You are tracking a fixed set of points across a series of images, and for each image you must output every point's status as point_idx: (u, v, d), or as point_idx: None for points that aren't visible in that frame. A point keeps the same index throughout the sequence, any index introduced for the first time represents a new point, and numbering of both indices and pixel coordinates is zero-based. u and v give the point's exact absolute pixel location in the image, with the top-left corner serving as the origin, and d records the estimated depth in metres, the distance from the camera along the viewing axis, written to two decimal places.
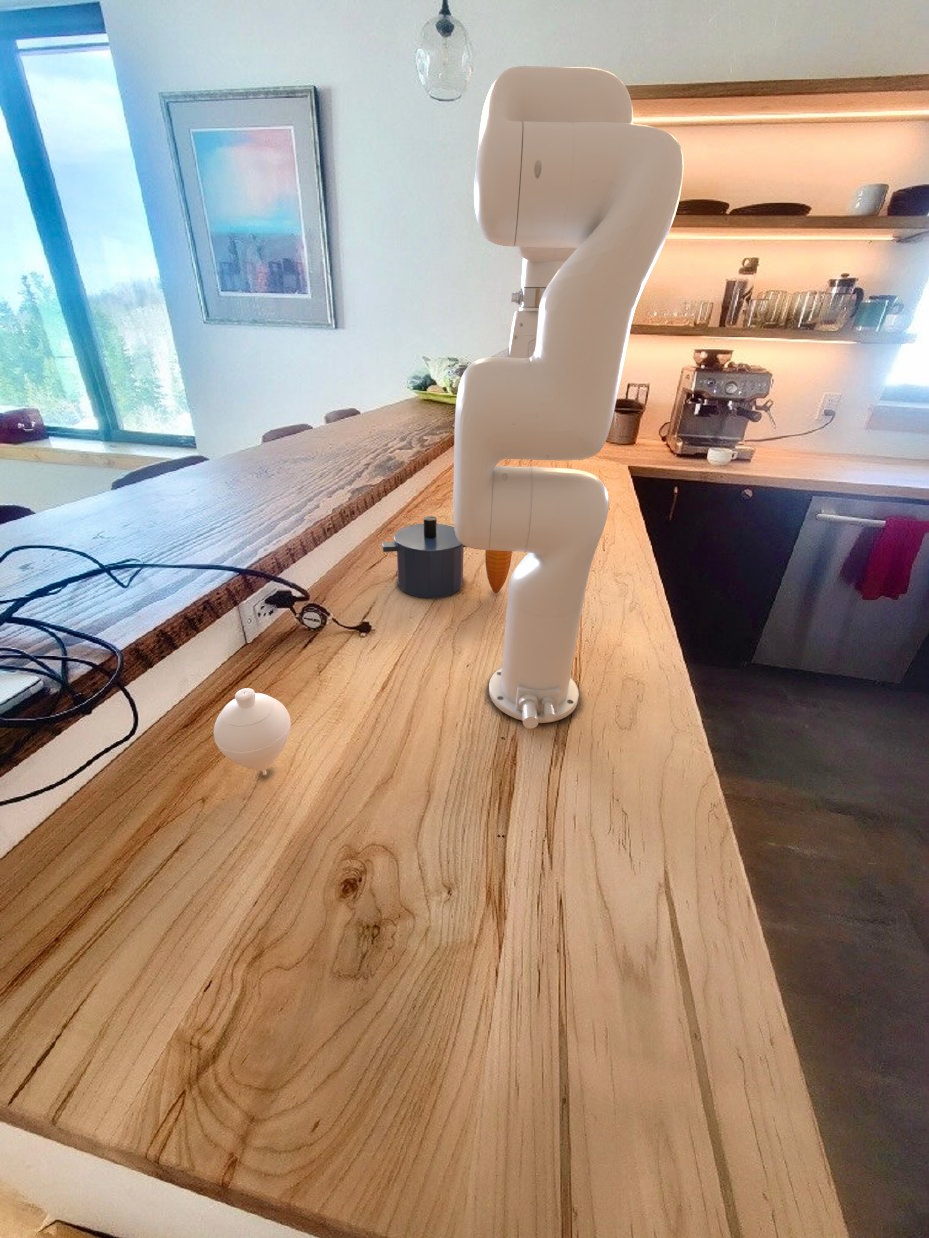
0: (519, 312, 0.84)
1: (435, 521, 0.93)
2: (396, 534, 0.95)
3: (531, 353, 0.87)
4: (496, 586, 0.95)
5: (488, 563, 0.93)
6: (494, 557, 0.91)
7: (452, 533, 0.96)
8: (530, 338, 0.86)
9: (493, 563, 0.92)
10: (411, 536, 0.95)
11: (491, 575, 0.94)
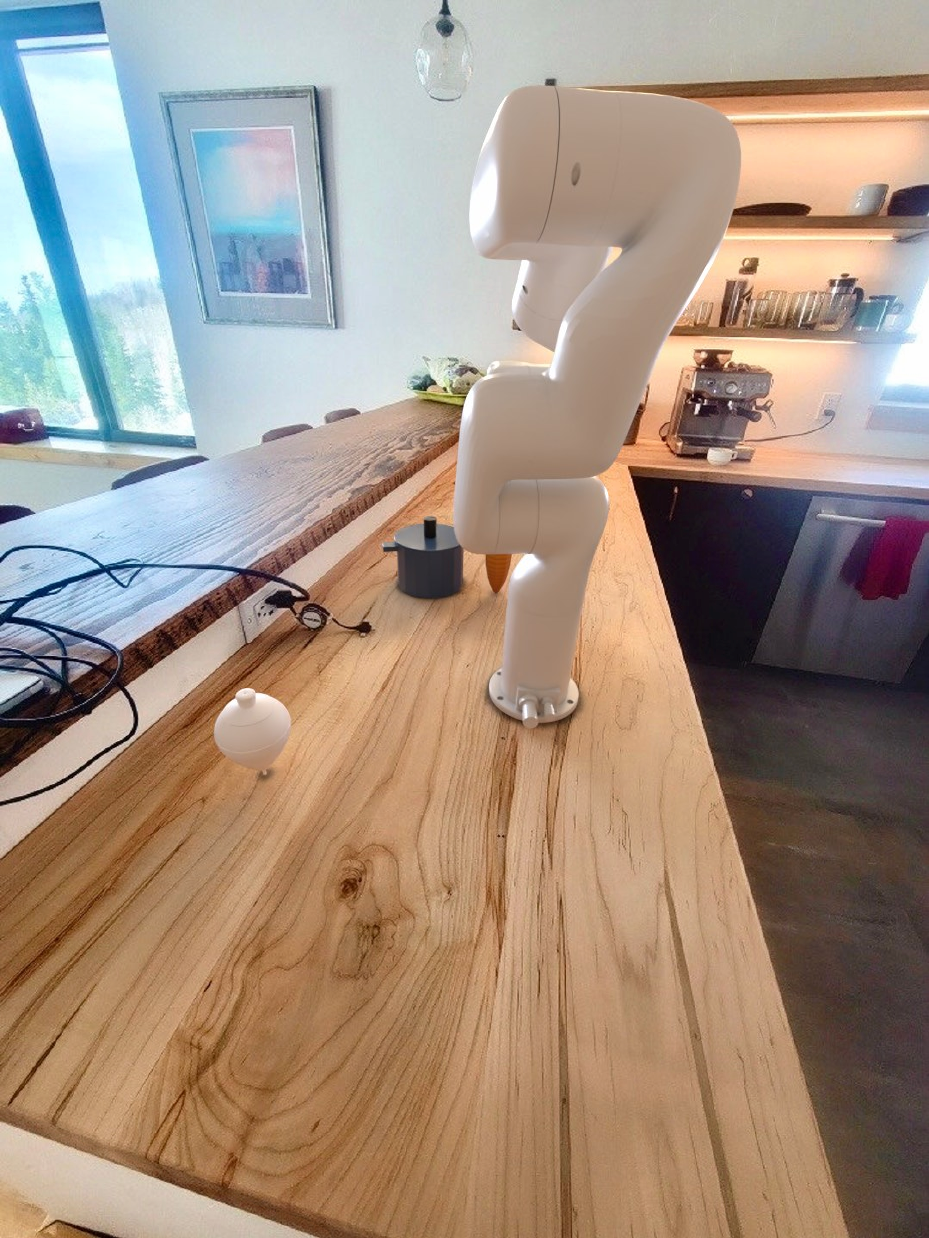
0: None
1: (435, 521, 0.93)
2: (396, 534, 0.95)
3: None
4: (496, 586, 0.95)
5: (488, 563, 0.93)
6: (494, 557, 0.91)
7: (452, 533, 0.96)
8: None
9: (493, 563, 0.92)
10: (411, 536, 0.95)
11: (491, 575, 0.94)
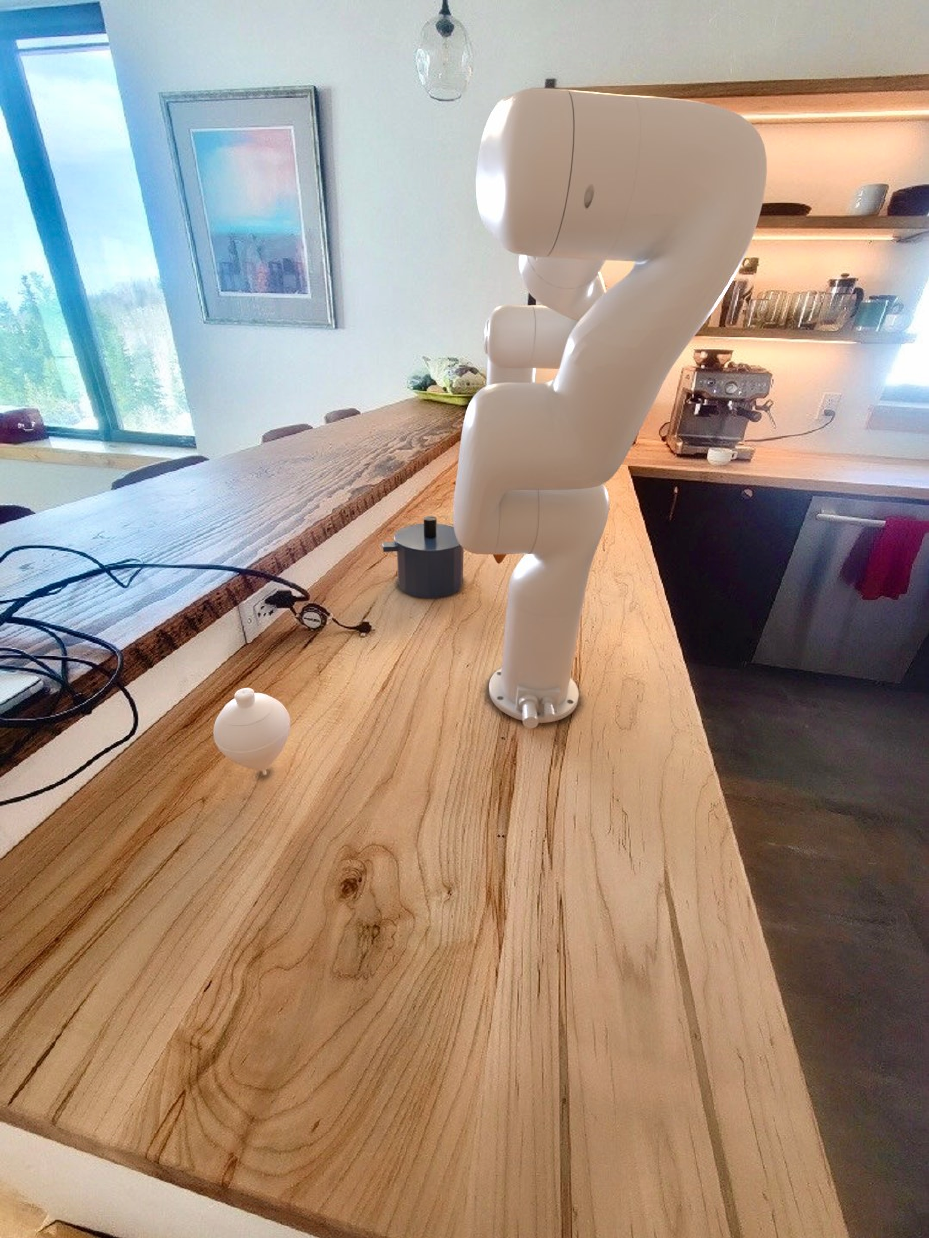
0: None
1: (435, 521, 0.93)
2: (396, 534, 0.95)
3: None
4: (499, 555, 0.91)
5: None
6: None
7: (452, 533, 0.96)
8: None
9: None
10: (411, 536, 0.95)
11: None
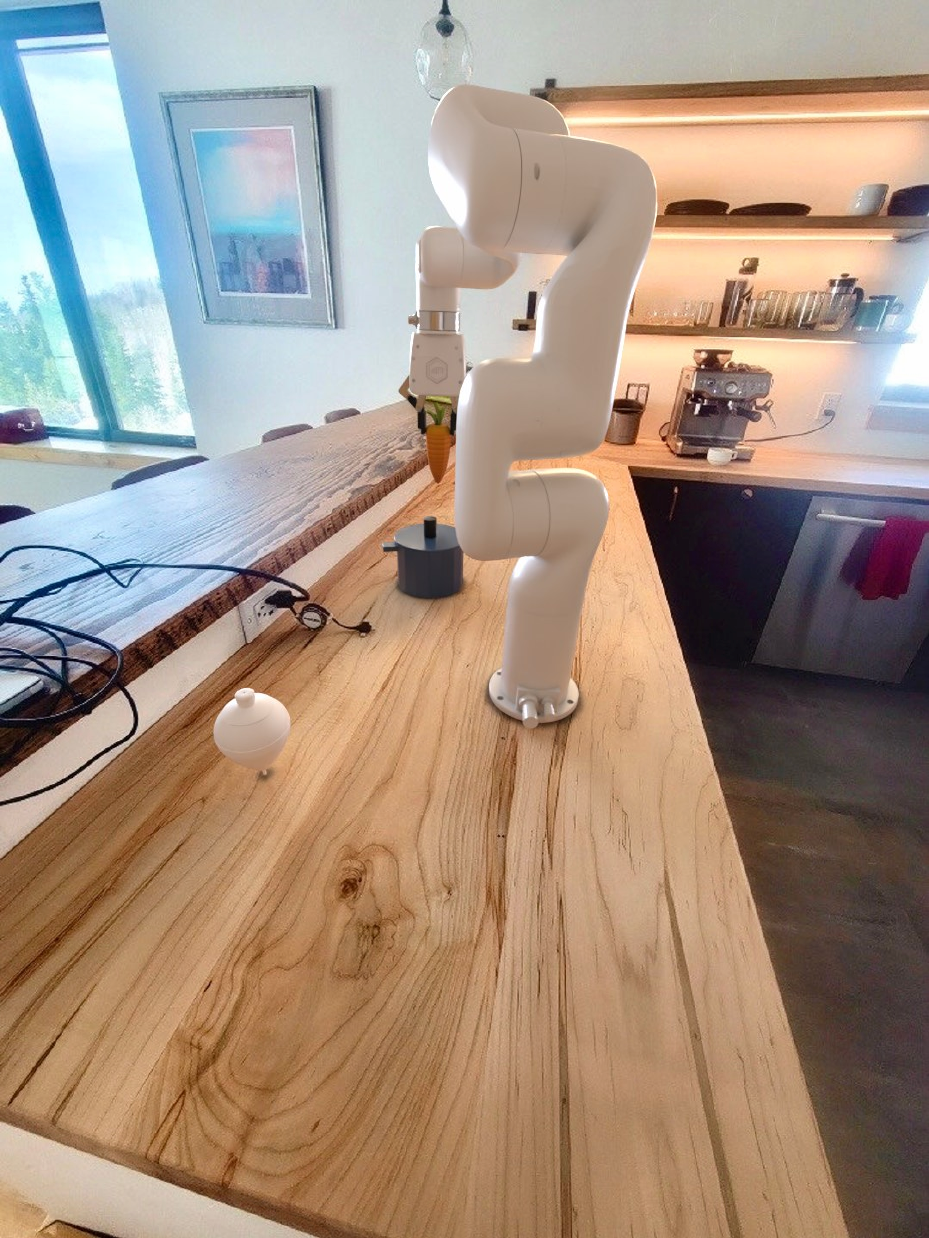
0: (415, 334, 0.86)
1: (435, 521, 0.93)
2: (396, 534, 0.95)
3: (430, 374, 0.89)
4: (437, 475, 0.99)
5: (428, 449, 0.97)
6: (432, 442, 0.95)
7: (452, 533, 0.96)
8: (427, 359, 0.87)
9: (432, 448, 0.96)
10: (411, 536, 0.95)
11: (432, 462, 0.98)
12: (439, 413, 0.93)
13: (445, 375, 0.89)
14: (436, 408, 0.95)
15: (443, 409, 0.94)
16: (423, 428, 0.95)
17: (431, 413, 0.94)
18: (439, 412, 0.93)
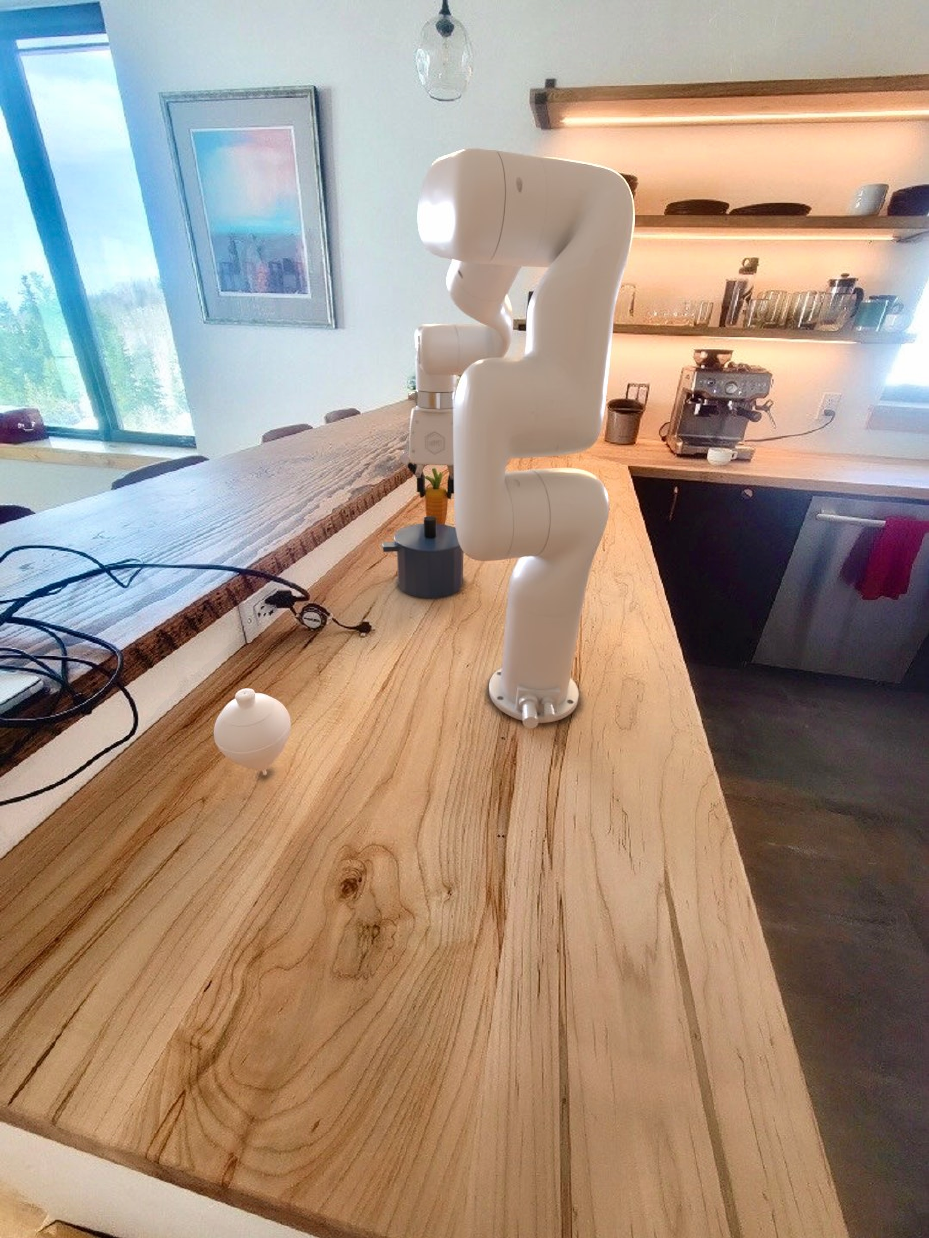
0: (414, 411, 0.93)
1: (435, 521, 0.93)
2: (396, 534, 0.95)
3: (428, 445, 0.95)
4: None
5: (426, 510, 1.03)
6: (431, 504, 1.02)
7: (452, 533, 0.96)
8: (426, 433, 0.94)
9: (430, 510, 1.03)
10: (411, 536, 0.95)
11: None
12: (437, 479, 1.00)
13: (442, 447, 0.95)
14: (434, 473, 1.02)
15: (441, 474, 1.01)
16: (422, 492, 1.01)
17: (429, 479, 1.00)
18: (437, 478, 0.99)
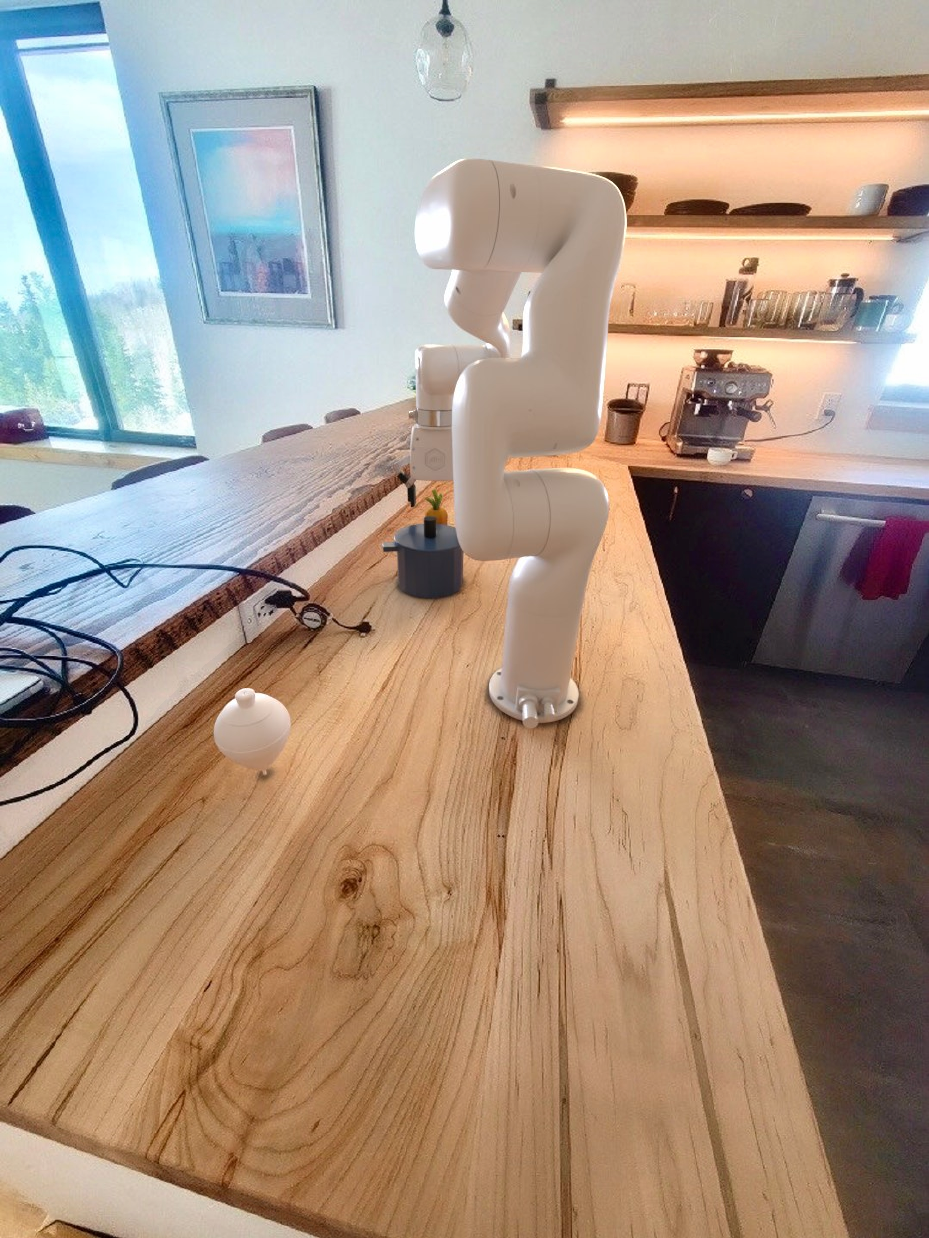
0: (415, 428, 0.94)
1: (435, 521, 0.93)
2: (396, 534, 0.95)
3: (428, 462, 0.97)
4: None
5: None
6: None
7: (452, 533, 0.96)
8: (426, 450, 0.96)
9: None
10: (411, 536, 0.95)
11: None
12: (437, 500, 1.02)
13: (442, 463, 0.97)
14: (434, 494, 1.04)
15: (440, 496, 1.03)
16: (412, 502, 1.02)
17: (430, 500, 1.03)
18: (437, 500, 1.02)
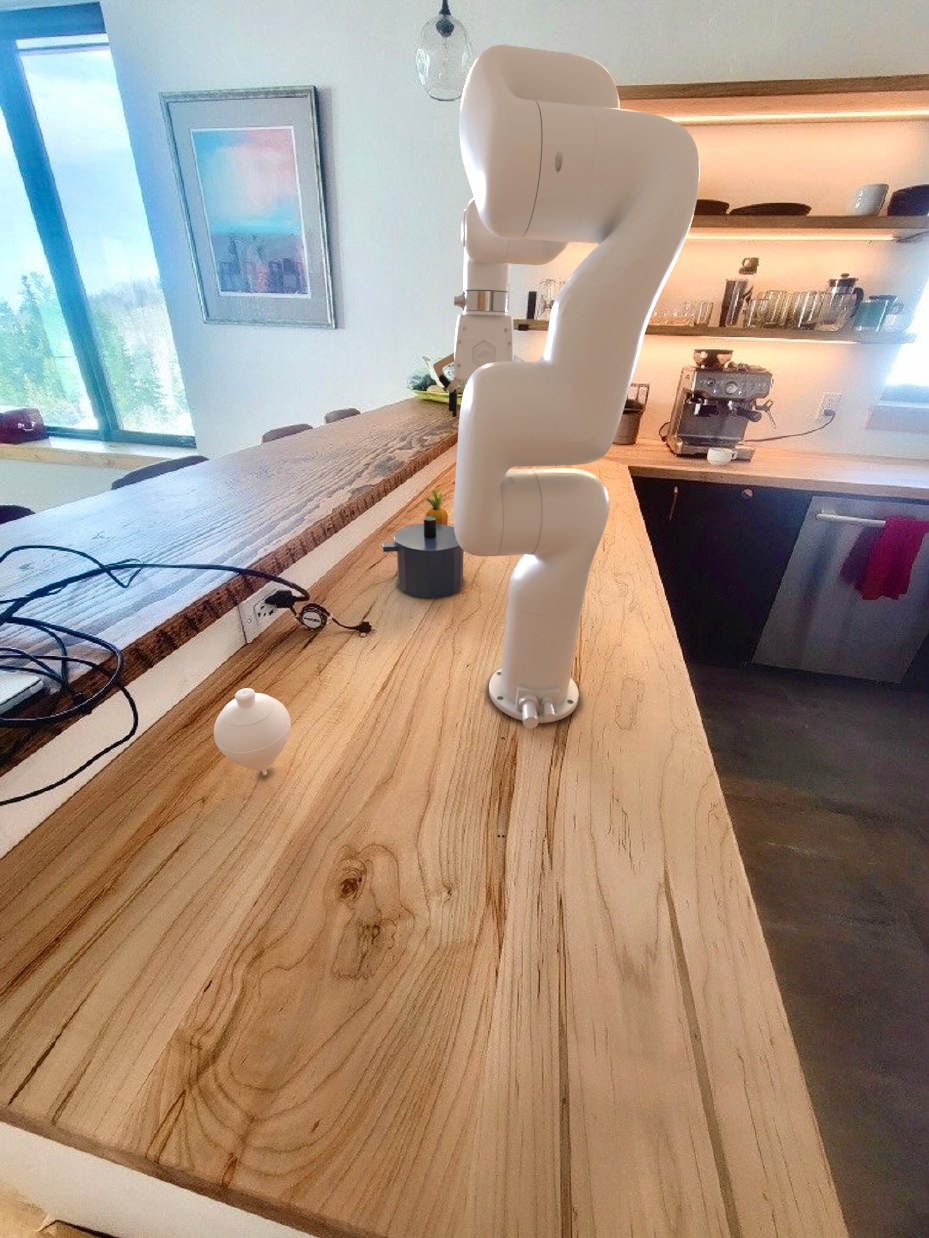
0: (462, 316, 0.81)
1: (435, 521, 0.93)
2: (396, 534, 0.95)
3: (476, 358, 0.84)
4: None
5: None
6: None
7: (452, 533, 0.96)
8: (474, 342, 0.82)
9: None
10: (411, 536, 0.95)
11: None
12: (437, 500, 1.02)
13: (492, 359, 0.84)
14: (434, 494, 1.04)
15: (441, 496, 1.03)
16: (455, 410, 0.89)
17: (430, 500, 1.03)
18: (437, 500, 1.02)
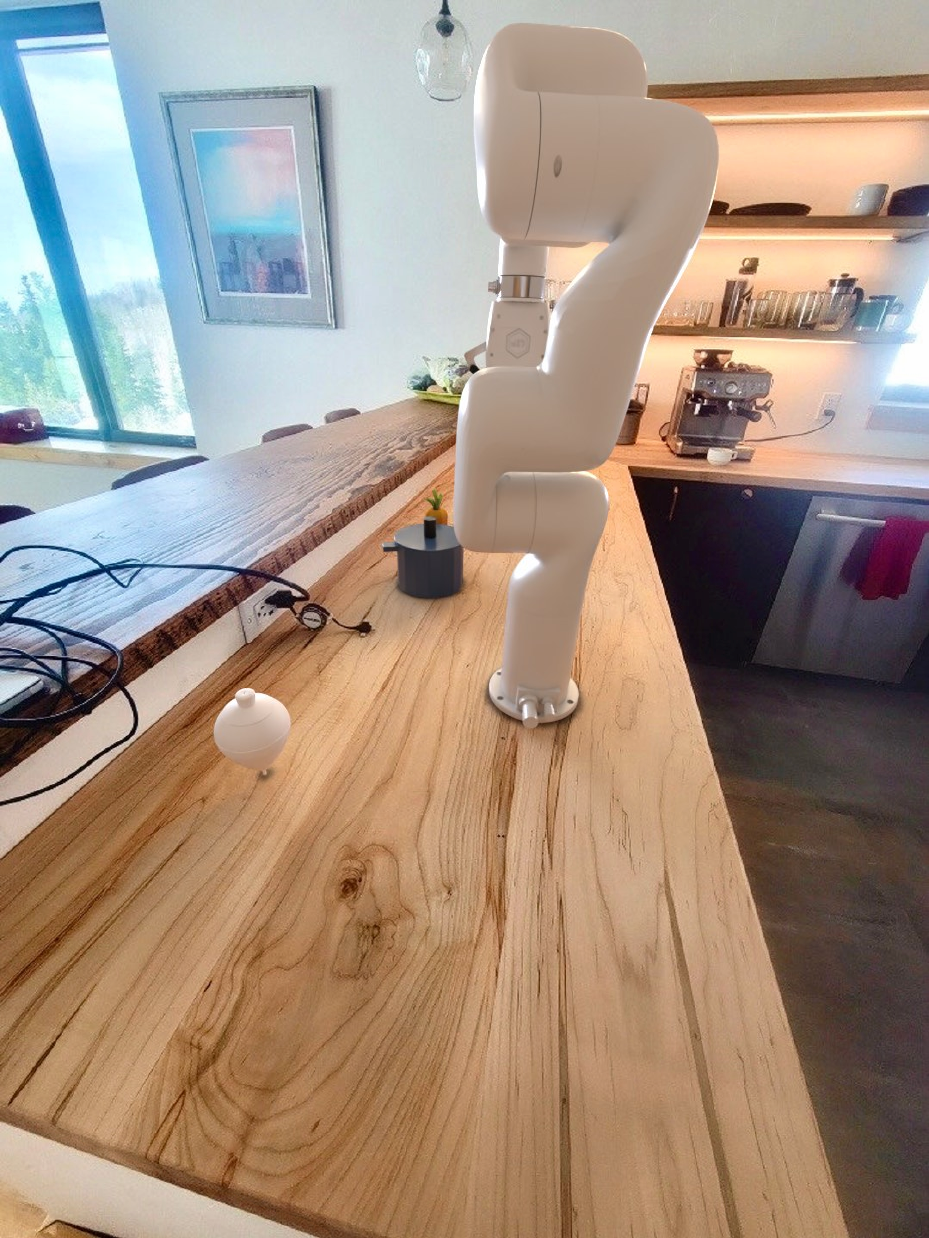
0: (496, 302, 0.78)
1: (435, 521, 0.93)
2: (396, 534, 0.95)
3: (510, 347, 0.80)
4: None
5: None
6: None
7: (452, 533, 0.96)
8: (508, 331, 0.79)
9: None
10: (411, 536, 0.95)
11: None
12: (437, 500, 1.02)
13: (527, 348, 0.80)
14: (434, 494, 1.04)
15: (441, 496, 1.03)
16: None
17: (430, 500, 1.03)
18: (437, 500, 1.02)
